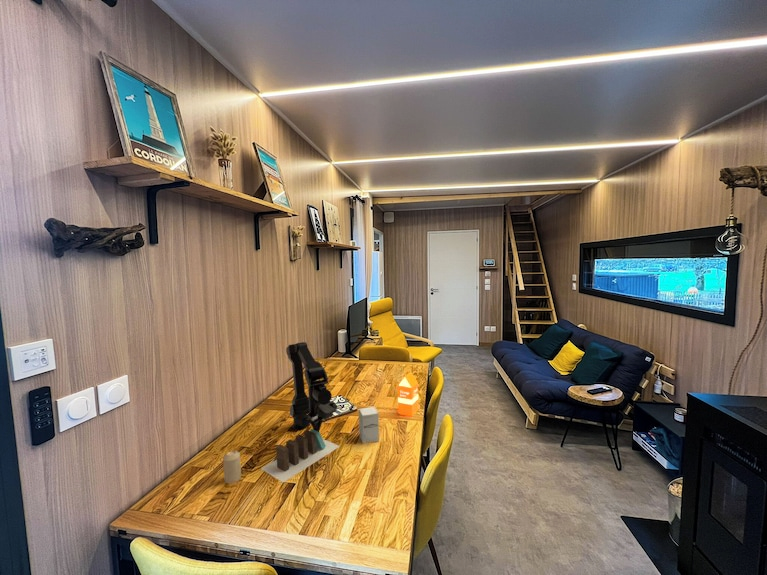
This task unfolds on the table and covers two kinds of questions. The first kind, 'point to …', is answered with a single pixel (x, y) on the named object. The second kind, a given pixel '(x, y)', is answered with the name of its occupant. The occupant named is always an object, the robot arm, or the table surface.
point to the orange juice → (408, 395)
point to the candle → (232, 467)
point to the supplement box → (368, 425)
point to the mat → (303, 464)
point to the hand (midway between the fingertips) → (317, 433)
